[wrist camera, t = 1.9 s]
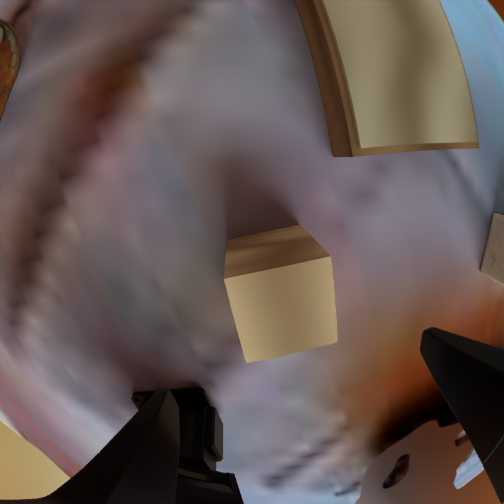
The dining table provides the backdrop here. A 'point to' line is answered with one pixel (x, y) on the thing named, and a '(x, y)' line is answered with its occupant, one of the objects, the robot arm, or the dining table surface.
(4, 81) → the tin
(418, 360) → the dining table surface
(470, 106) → the plinth
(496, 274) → the syrup box
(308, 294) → the block
